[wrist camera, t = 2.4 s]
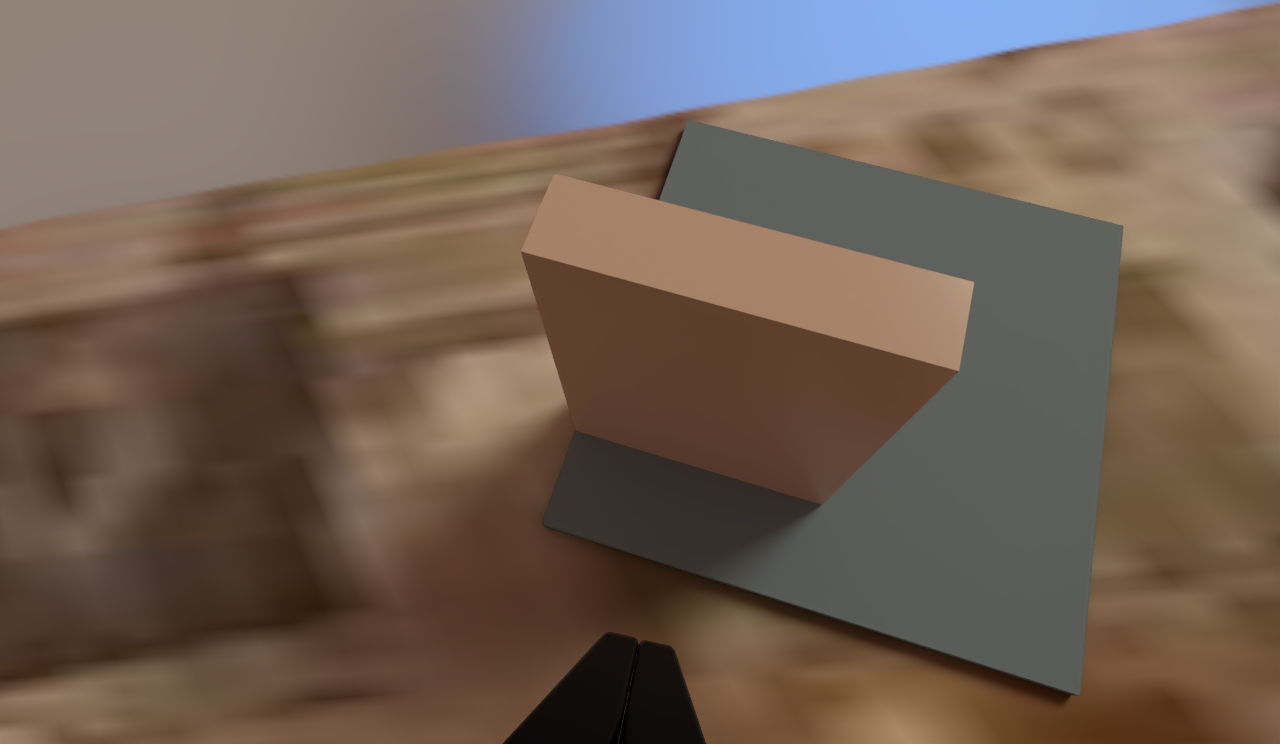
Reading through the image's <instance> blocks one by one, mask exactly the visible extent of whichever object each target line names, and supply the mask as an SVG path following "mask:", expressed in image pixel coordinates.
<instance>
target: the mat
mask: <svg viewBox="0 0 1280 744" xmlns="http://www.w3.org/2000/svg"><path fill="white" fill-rule="evenodd" d="M659 201H663V202H667V203H671V204H674V205H678V206H682V207H686V208H690V209H694V210H698V211H701V212H705V213H709V214H713V215H717V216H721V217H725V218H729V219H732V220H736V221H740V222H744V223H748V224H752V225H756V226H760V227H763V228H767V229H771V230H775V231H779V232H783V233H787V234H790V235H794V236H798V237H802V238H806V239H810V240H814V241H818V242H821V243H825V244H829V245H833V246H837V247H841V248H845V249H849V250H852V251H856V252H860V253H864V254H868V255H872V256H876V257H879V258H883V259H887V260H891V261H895V262H899V263H903V264H907V265H910V266H914V267H918V268H922V269H926V270H930V271H934V272H938V273H941V274H945V275H949V276H953V277H957V278H961V279H965V280H968V281H972V282H974V287H973V293H972V299H971V304H970V310H969V316H968V322H967V328H966V334H965V339H964V345H963V351H962V357H961V363H960V369H959V372H958V373H957V374H956V375H955V376H954V377H953V378H952V379H951V380H949V381H948V382H947V383H946V384H945V385H944V386H943V387H942V388H941V389H940V390H939V391H938V392H937V393H936V394H935V395H934V396H933V397H932V398H931V399H930V400H929V401H928V402H927V403H926V404H925V405H924V406H923V407H922V408H921V409H920V410H919V411H918V412H917V413H916V414H915V415H914V416H913V417H912V418H911V419H910V420H909V421H907V422H906V423H905V424H904V425H903V426H902V427H901V428H900V429H899V430H898V431H897V432H896V433H895V434H894V435H893V436H892V437H891V438H890V439H889V440H888V441H887V442H886V443H885V444H884V445H883V446H882V447H881V448H880V449H879V450H878V451H877V452H876V453H875V454H874V455H873V456H872V457H871V458H870V459H869V460H868V461H867V462H866V463H864V464H863V465H862V466H861V467H860V468H859V469H858V470H857V471H856V472H855V473H854V474H853V475H852V476H851V477H850V478H849V479H848V480H847V481H846V482H845V483H844V484H843V485H842V486H841V487H840V488H839V489H838V490H837V491H836V492H835V493H834V494H833V495H832V496H831V497H830V498H829V499H828V500H827V501H826V502H825V503H824V504H823V505H820V504H817V503H814V502H810V501H807V500H804V499H800V498H797V497H794V496H790V495H787V494H784V493H780V492H777V491H774V490H771V489H767V488H764V487H761V486H757V485H754V484H751V483H747V482H744V481H741V480H737V479H734V478H731V477H727V476H724V475H721V474H718V473H714V472H711V471H708V470H704V469H701V468H698V467H694V466H691V465H688V464H684V463H681V462H678V461H674V460H671V459H668V458H664V457H661V456H658V455H655V454H651V453H648V452H645V451H641V450H638V449H635V448H631V447H628V446H625V445H621V444H618V443H615V442H611V441H608V440H605V439H602V438H598V437H595V436H592V435H588V434H585V433H582V432H578V431H575V434H574V436H573V439H572V442H571V445H570V447H569V450H568V453H567V456H566V458H565V461H564V464H563V467H562V470H561V472H560V475H559V478H558V481H557V483H556V486H555V489H554V492H553V494H552V497H551V500H550V503H549V505H548V508H547V511H546V514H545V517H544V519H543V522H542V524H543V526H545V527H548V528H551V529H554V530H558V531H561V532H564V533H567V534H570V535H573V536H576V537H579V538H583V539H586V540H589V541H592V542H595V543H598V544H601V545H604V546H608V547H611V548H614V549H617V550H620V551H623V552H626V553H629V554H633V555H636V556H639V557H642V558H645V559H648V560H651V561H654V562H658V563H661V564H664V565H667V566H670V567H673V568H676V569H679V570H683V571H686V572H689V573H692V574H695V575H698V576H701V577H705V578H708V579H711V580H714V581H717V582H720V583H723V584H726V585H730V586H733V587H736V588H739V589H742V590H745V591H748V592H751V593H755V594H758V595H761V596H764V597H767V598H770V599H773V600H776V601H780V602H783V603H786V604H789V605H792V606H795V607H798V608H801V609H805V610H808V611H811V612H814V613H817V614H820V615H823V616H826V617H830V618H833V619H836V620H839V621H842V622H845V623H848V624H851V625H855V626H858V627H861V628H864V629H867V630H870V631H873V632H876V633H880V634H883V635H886V636H889V637H892V638H895V639H898V640H901V641H905V642H908V643H911V644H914V645H917V646H920V647H923V648H926V649H930V650H933V651H936V652H939V653H942V654H945V655H948V656H951V657H955V658H958V659H961V660H964V661H967V662H970V663H973V664H976V665H980V666H983V667H986V668H989V669H992V670H995V671H998V672H1001V673H1005V674H1008V675H1011V676H1014V677H1017V678H1020V679H1023V680H1026V681H1030V682H1033V683H1036V684H1039V685H1042V686H1045V687H1048V688H1051V689H1055V690H1058V691H1061V692H1064V693H1067V694H1070V695H1077V696H1080V691H1081V680H1082V670H1083V659H1084V648H1085V637H1086V626H1087V615H1088V604H1089V593H1090V583H1091V572H1092V561H1093V550H1094V539H1095V528H1096V517H1097V507H1098V496H1099V485H1100V474H1101V463H1102V452H1103V441H1104V431H1105V420H1106V409H1107V398H1108V387H1109V376H1110V365H1111V354H1112V344H1113V333H1114V322H1115V311H1116V300H1117V289H1118V278H1119V268H1120V257H1121V246H1122V235H1123V226H1122V225H1118V224H1114V223H1110V222H1105V221H1101V220H1097V219H1093V218H1089V217H1085V216H1081V215H1077V214H1073V213H1068V212H1064V211H1060V210H1056V209H1052V208H1048V207H1044V206H1040V205H1036V204H1031V203H1027V202H1023V201H1019V200H1015V199H1011V198H1007V197H1003V196H999V195H995V194H990V193H986V192H982V191H978V190H974V189H970V188H966V187H962V186H958V185H953V184H949V183H945V182H941V181H937V180H933V179H929V178H925V177H921V176H917V175H912V174H908V173H904V172H900V171H896V170H892V169H888V168H884V167H880V166H875V165H871V164H867V163H863V162H859V161H855V160H851V159H847V158H843V157H839V156H834V155H830V154H826V153H822V152H818V151H814V150H810V149H806V148H802V147H797V146H793V145H789V144H785V143H781V142H777V141H773V140H769V139H765V138H761V137H756V136H752V135H748V134H744V133H740V132H736V131H732V130H728V129H724V128H719V127H715V126H711V125H707V124H703V123H699V122H695V121H691V120H688V121H687V124H686V127H685V130H684V132H683V135H682V138H681V141H680V144H679V146H678V149H677V152H676V155H675V157H674V160H673V163H672V166H671V168H670V171H669V174H668V177H667V179H666V182H665V185H664V188H663V190H662V193H661V196H660V199H659Z"/></svg>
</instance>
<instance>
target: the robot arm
mask: <svg viewBox="0 0 1280 744" xmlns="http://www.w3.org/2000/svg"><path fill="white" fill-rule="evenodd" d="M637 649H638V651H637ZM636 654H637V656H636ZM635 659H636V661H635ZM634 664H635V666H634ZM633 669H634V671H633ZM632 673H633V675H632ZM631 678H632V680H631ZM630 683H631V685H630ZM629 688H630V690H629ZM628 692H629V695H628ZM627 697H628V699H627ZM626 702H627V704H626ZM625 707H626V709H625ZM624 712H625V714H624ZM623 716H624V719H623ZM622 721H623V723H622ZM621 726H622V728H621ZM620 731H621V733H620ZM619 736H620V738H619ZM618 740H619V743H618ZM503 744H706V742H705V739H704V736H703V733H702V730H701V727H700V724H699V721H698V718H697V715H696V712H695V709H694V706H693V703H692V700H691V697H690V694H689V691H688V688H687V686H686V683H685V680H684V677H683V674H682V671H681V668H680V665H679V662H678V659H677V656H676V653H675V651H674V649H673V648H672V647H671V646H668V645H664V644H660V643H655V642H651V641H647V640H644V641H641V642H640V644H639V647H638V640H637V639H636V638H634V637H630V636H626V635H621V634H617V633H613V632H607V633H605V634H604V635H603V636H602V637H601V638H600V639H599V640H598V641H597V642H596V643H595V644H594V645H593V646H592V647H591V648H590V650H589V651H588V652H587V653H586V654H585V655H584V656H583V657H582V658H581V659H580V660H579V661H578V662H577V664H576V665H575V666H574V667H573V668H572V669H571V670H570V671H569V672H568V673H567V674H566V675H565V677H564V678H563V679H562V680H561V681H560V682H559V683H558V684H557V685H556V686H555V687H554V688H553V690H552V691H551V692H550V693H549V694H548V695H547V696H546V697H545V698H544V699H543V700H542V701H541V703H540V704H539V705H538V706H537V707H536V708H535V709H534V710H533V711H532V712H531V713H530V714H529V716H528V717H527V718H526V719H525V720H524V721H523V722H522V723H521V724H520V725H519V726H518V727H517V729H516V730H515V731H514V732H513V733H512V734H511V735H510V736H509V737H508V738H507V739H506V740H505V742H504V743H503Z"/></svg>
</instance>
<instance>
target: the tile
mask: <svg viewBox="0 0 1280 744" xmlns="http://www.w3.org/2000/svg"><path fill="white" fill-rule="evenodd" d="M521 253H522V256H523V260H524V263H525V266H526V270H527V273H528V276H529V279H530V283H531V286H532V289H533V293H534V296H535V299H536V302H537V306H538V309H539V312H540V316H541V319H542V322H543V325H544V329H545V332H546V335H547V339H548V342H549V345H550V348H551V352H552V355H553V358H554V361H555V365H556V368H557V371H558V375H559V378H560V381H561V384H562V388H563V391H564V394H565V398H566V401H567V404H568V407H569V411H570V414H571V417H572V421H573V424H574V427H575V430H576V431H578V432H582V433H585V434H588V435H592V436H595V437H598V438H602V439H605V440H608V441H611V442H615V443H618V444H621V445H625V446H628V447H631V448H635V449H638V450H641V451H645V452H648V453H651V454H655V455H658V456H661V457H664V458H668V459H671V460H674V461H678V462H681V463H684V464H688V465H691V466H694V467H698V468H701V469H704V470H708V471H711V472H714V473H718V474H721V475H724V476H727V477H731V478H734V479H737V480H741V481H744V482H747V483H751V484H754V485H757V486H761V487H764V488H767V489H771V490H774V491H777V492H780V493H784V494H787V495H790V496H794V497H797V498H800V499H804V500H807V501H810V502H814V503H817V504H820V505H823V504H824V503H825V502H826V501H827V500H828V499H829V498H830V497H831V496H832V495H833V494H834V493H835V492H836V491H837V490H838V489H839V488H840V487H841V486H842V485H843V484H844V483H845V482H846V481H847V480H848V479H849V478H850V477H851V476H852V475H853V474H854V473H855V472H856V471H857V470H858V469H859V468H860V467H861V466H862V465H863V464H864V463H866V462H867V461H868V460H869V459H870V458H871V457H872V456H873V455H874V454H875V453H876V452H877V451H878V450H879V449H880V448H881V447H882V446H883V445H884V444H885V443H886V442H887V441H888V440H889V439H890V438H891V437H892V436H893V435H894V434H895V433H896V432H897V431H898V430H899V429H900V428H901V427H902V426H903V425H904V424H905V423H906V422H907V421H909V420H910V419H911V418H912V417H913V416H914V415H915V414H916V413H917V412H918V411H919V410H920V409H921V408H922V407H923V406H924V405H925V404H926V403H927V402H928V401H929V400H930V399H931V398H932V397H933V396H934V395H935V394H936V393H937V392H938V391H939V390H940V389H941V388H942V387H943V386H944V385H945V384H946V383H947V382H948V381H949V380H951V379H952V378H953V377H954V376H955V375H956V374H957V373H958V372H959V369H960V363H961V357H962V351H963V345H964V339H965V334H966V328H967V322H968V316H969V310H970V304H971V299H972V293H973V287H974V282H972V281H968V280H965V279H961V278H957V277H953V276H949V275H945V274H941V273H938V272H934V271H930V270H926V269H922V268H918V267H914V266H910V265H907V264H903V263H899V262H895V261H891V260H887V259H883V258H879V257H876V256H872V255H868V254H864V253H860V252H856V251H852V250H849V249H845V248H841V247H837V246H833V245H829V244H825V243H821V242H818V241H814V240H810V239H806V238H802V237H798V236H794V235H790V234H787V233H783V232H779V231H775V230H771V229H767V228H763V227H760V226H756V225H752V224H748V223H744V222H740V221H736V220H732V219H729V218H725V217H721V216H717V215H713V214H709V213H705V212H701V211H698V210H694V209H690V208H686V207H682V206H678V205H674V204H671V203H667V202H663V201H659V200H655V199H651V198H647V197H643V196H640V195H636V194H632V193H628V192H624V191H620V190H616V189H612V188H609V187H605V186H601V185H597V184H593V183H589V182H585V181H582V180H578V179H574V178H570V177H566V176H562V175H558V174H554V175H553V178H552V180H551V182H550V185H549V187H548V189H547V192H546V194H545V196H544V199H543V201H542V203H541V206H540V208H539V210H538V213H537V215H536V217H535V220H534V222H533V224H532V227H531V229H530V231H529V234H528V236H527V238H526V241H525V243H524V245H523V248H522V250H521Z"/></svg>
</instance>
